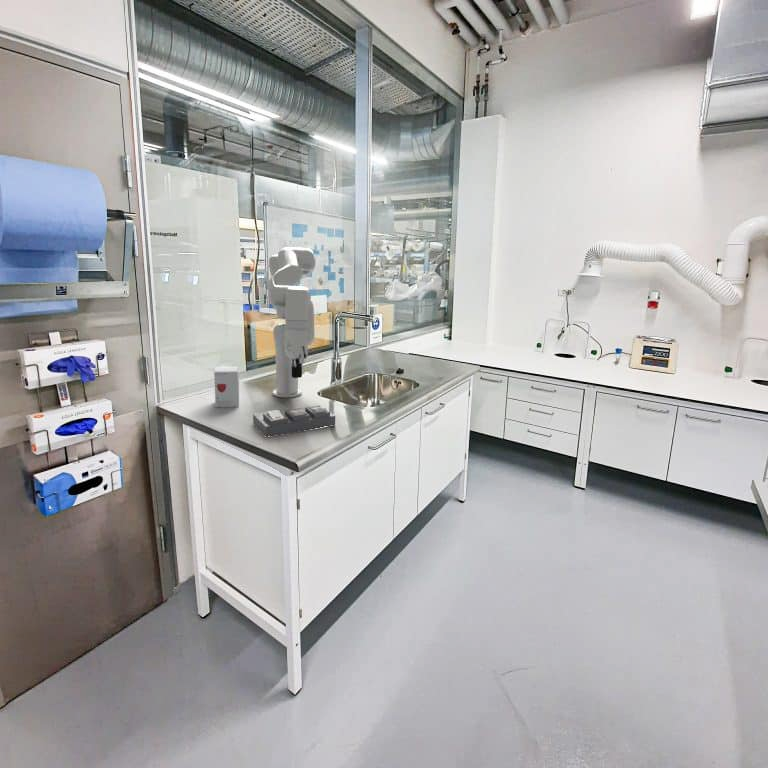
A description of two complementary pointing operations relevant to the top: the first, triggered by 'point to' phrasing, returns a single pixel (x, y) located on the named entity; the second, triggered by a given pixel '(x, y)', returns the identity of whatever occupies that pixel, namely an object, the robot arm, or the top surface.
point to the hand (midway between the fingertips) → (296, 377)
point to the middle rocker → (297, 412)
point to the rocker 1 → (275, 415)
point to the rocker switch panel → (293, 421)
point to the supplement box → (226, 386)
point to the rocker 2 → (318, 409)
